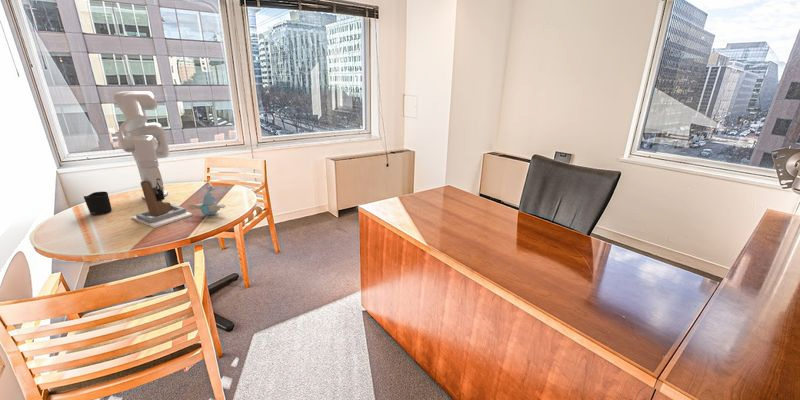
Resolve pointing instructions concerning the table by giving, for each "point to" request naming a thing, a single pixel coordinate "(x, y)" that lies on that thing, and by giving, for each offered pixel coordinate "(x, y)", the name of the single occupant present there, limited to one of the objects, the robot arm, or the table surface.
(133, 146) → the robot arm
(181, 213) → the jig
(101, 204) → the pen holder
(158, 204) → the wooden block
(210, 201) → the toy figure
